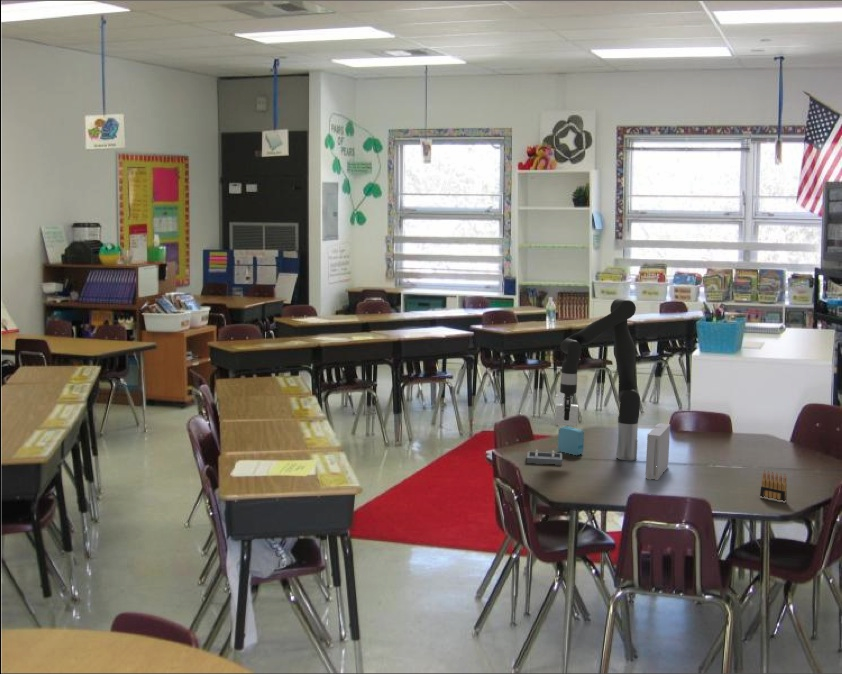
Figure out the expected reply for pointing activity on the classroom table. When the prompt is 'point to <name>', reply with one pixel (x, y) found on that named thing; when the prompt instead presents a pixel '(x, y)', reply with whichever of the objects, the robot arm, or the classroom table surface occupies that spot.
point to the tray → (544, 458)
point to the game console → (657, 451)
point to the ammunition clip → (773, 486)
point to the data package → (571, 440)
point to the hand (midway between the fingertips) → (566, 419)
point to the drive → (572, 415)
